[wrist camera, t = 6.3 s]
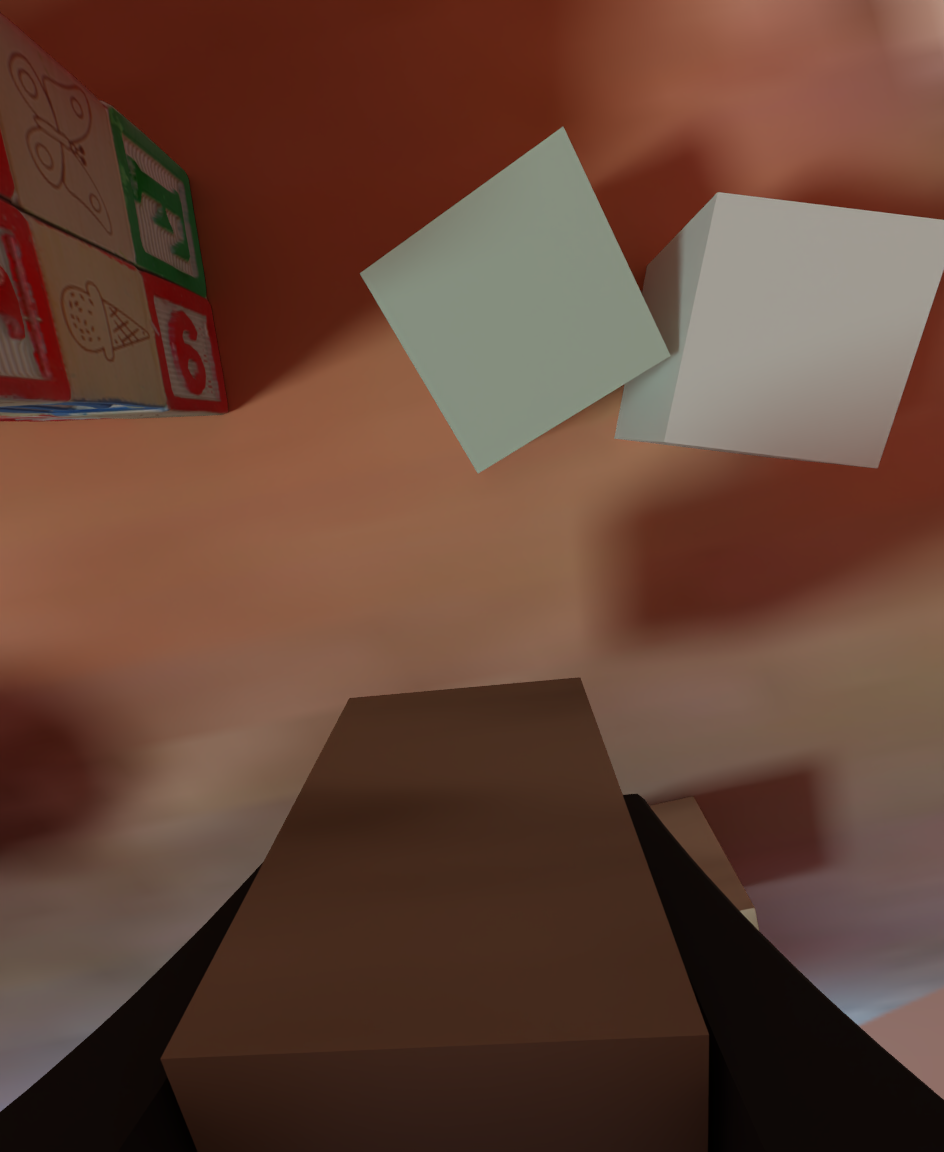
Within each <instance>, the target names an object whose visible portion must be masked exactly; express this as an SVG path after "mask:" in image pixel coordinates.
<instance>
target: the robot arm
mask: <svg viewBox="0 0 944 1152" xmlns="http://www.w3.org/2000/svg"><path fill="white" fill-rule="evenodd" d="M623 798H624V800H625V803H626V806H627V809H628V811H629V814H630V817H631V820H632V823H633V825H634V828H635V831H636V834H637V836H638V839H639V842H640V845H641V848H642V850H643V853H644V856H645V859H646V861H647V864H648V867H649V870H650V872H651V875H652V878H653V881H654V884H655V886H656V889H657V892H658V895H659V897H660V900H661V903H662V906H663V908H664V911H665V914H666V917H667V920H668V922H669V925H670V928H671V931H672V933H673V936H674V939H675V942H676V945H677V947H678V950H679V953H680V956H681V958H682V961H683V964H684V967H685V969H686V972H687V975H688V978H689V981H690V983H691V986H692V989H693V992H694V994H695V997H696V1000H697V1003H698V1006H699V1008H700V1011H701V1014H702V1017H703V1019H704V1022H705V1025H706V1028H707V1030H708V1033H709V1096H708V1152H944V1100H943V1099H942V1098H941V1097H940V1096H938V1095H937V1094H936V1093H935V1092H934V1091H933V1090H931V1089H930V1088H929V1087H928V1086H927V1085H925V1084H924V1083H923V1082H922V1081H921V1080H920V1079H918V1078H917V1077H916V1076H915V1075H914V1074H913V1073H912V1072H910V1071H909V1070H908V1069H907V1068H906V1067H905V1066H903V1065H902V1064H901V1063H900V1062H899V1061H898V1060H896V1059H895V1058H894V1057H893V1056H892V1055H891V1054H889V1053H888V1052H887V1051H886V1050H885V1049H884V1048H882V1047H881V1046H880V1045H879V1044H878V1043H877V1042H876V1041H875V1040H873V1039H872V1038H871V1037H870V1036H869V1035H868V1034H867V1033H866V1032H865V1031H863V1030H862V1029H861V1028H860V1027H859V1026H858V1025H857V1024H856V1023H855V1022H853V1021H852V1020H851V1019H850V1018H849V1017H848V1016H847V1015H846V1014H845V1013H843V1012H842V1011H841V1010H840V1009H839V1008H838V1007H837V1006H836V1005H835V1004H834V1003H832V1002H831V1001H830V1000H829V999H828V998H827V997H826V996H825V995H824V994H823V993H822V992H821V991H820V990H819V989H817V988H816V987H815V986H814V985H813V984H812V983H811V982H810V981H809V980H808V979H807V978H806V977H805V976H804V975H803V974H802V973H801V972H800V971H799V970H798V969H797V968H796V967H794V966H793V965H792V964H791V963H790V962H789V961H788V960H787V959H786V958H785V957H784V956H783V955H782V954H781V953H780V952H779V951H778V950H777V949H776V948H775V947H774V946H773V945H772V944H771V943H770V942H769V941H768V940H767V939H766V938H765V937H764V936H763V935H762V934H761V933H760V932H759V931H758V930H757V928H756V927H755V926H754V925H753V924H752V923H751V922H750V921H749V920H748V919H747V918H746V917H745V916H744V915H743V914H742V913H741V912H740V911H739V910H738V909H737V908H736V906H735V905H734V904H733V903H732V902H731V901H730V900H729V899H728V898H727V897H726V896H725V894H724V893H723V892H722V891H721V890H720V889H719V888H718V887H717V886H716V885H715V884H714V882H713V881H712V880H711V879H710V878H709V877H708V876H707V875H706V874H705V873H704V871H703V870H702V869H701V868H700V867H699V866H698V865H697V863H696V862H695V861H694V860H693V859H692V858H691V857H690V855H689V854H688V853H687V852H686V851H685V849H684V848H683V847H682V846H681V845H680V844H679V842H678V841H677V840H676V839H675V838H674V836H673V835H672V834H671V833H670V832H669V830H668V829H667V828H666V827H665V825H664V824H663V823H662V822H661V820H660V819H659V818H658V817H657V815H656V814H655V813H654V811H653V810H652V809H651V808H650V806H649V805H648V804H647V802H646V801H645V800H644V799H643V798H642V797H641V796H640V795H638V794H629V795H623ZM262 864H263V863H262ZM262 864H261V865H260V866H259V867H258V868H257V869H256V871H255V872H254V873H253V874H252V875H251V876H250V877H249V878H248V879H247V880H246V881H245V882H244V883H243V885H242V886H241V887H240V888H239V889H238V890H237V891H236V892H235V893H234V894H233V895H232V896H231V897H230V898H229V899H228V900H227V902H226V903H225V904H224V905H223V906H222V907H221V908H220V909H219V910H218V911H217V912H216V913H215V914H214V915H213V916H212V917H211V919H210V920H209V921H208V922H207V923H206V924H205V925H204V926H203V927H202V928H201V929H200V930H199V931H198V932H197V933H196V934H195V935H194V936H193V937H192V938H191V939H190V940H189V941H188V942H187V943H186V944H185V945H184V946H183V947H182V948H181V949H180V950H179V951H178V952H177V953H176V954H175V955H174V956H173V957H172V958H171V959H170V960H169V961H168V962H167V963H166V964H165V965H164V966H163V967H162V968H161V969H160V970H159V971H158V972H157V973H156V974H155V975H153V976H152V977H151V978H150V979H149V980H148V981H147V982H146V983H145V984H144V985H143V986H142V987H141V988H140V989H139V990H138V991H137V992H136V993H135V994H134V995H133V996H132V997H131V998H130V999H129V1000H128V1001H127V1002H126V1003H125V1004H124V1005H123V1006H121V1007H120V1008H119V1009H118V1010H117V1011H116V1012H115V1013H114V1014H113V1015H112V1016H111V1017H110V1018H108V1019H107V1020H106V1021H105V1022H104V1023H103V1024H102V1025H101V1026H100V1027H99V1028H98V1029H96V1030H95V1031H94V1032H93V1033H92V1034H91V1035H90V1036H89V1037H87V1038H86V1039H85V1040H84V1041H83V1042H82V1043H81V1044H80V1045H78V1046H77V1047H76V1048H75V1049H74V1050H73V1051H72V1052H70V1053H69V1054H68V1055H67V1056H66V1057H65V1058H64V1059H62V1060H61V1061H60V1062H59V1063H58V1064H57V1065H56V1066H55V1067H53V1068H52V1069H51V1070H50V1071H49V1072H48V1073H47V1074H45V1075H44V1076H43V1077H42V1078H41V1079H40V1080H38V1081H37V1082H36V1083H35V1084H34V1085H33V1086H31V1087H30V1088H29V1089H28V1090H27V1091H25V1092H24V1093H23V1094H22V1095H21V1096H19V1097H18V1098H17V1099H16V1100H14V1101H13V1102H12V1103H11V1104H9V1105H8V1106H7V1107H6V1108H5V1109H3V1110H2V1111H1V1112H0V1152H197V1149H196V1147H195V1144H194V1142H193V1139H192V1137H191V1134H190V1132H189V1129H188V1127H187V1124H186V1122H185V1119H184V1117H183V1114H182V1112H181V1109H180V1107H179V1104H178V1102H177V1099H176V1097H175V1094H174V1092H173V1089H172V1087H171V1084H170V1082H169V1079H168V1077H167V1074H166V1072H165V1069H164V1067H163V1064H162V1062H161V1057H162V1055H163V1053H164V1051H165V1049H166V1047H167V1045H168V1043H169V1042H170V1040H171V1038H172V1036H173V1034H174V1032H175V1030H176V1028H177V1026H178V1024H179V1022H180V1021H181V1019H182V1017H183V1015H184V1013H185V1011H186V1009H187V1007H188V1005H189V1003H190V1001H191V1000H192V998H193V996H194V994H195V992H196V990H197V988H198V986H199V984H200V982H201V980H202V979H203V977H204V975H205V973H206V971H207V969H208V967H209V965H210V963H211V961H212V960H213V958H214V956H215V954H216V952H217V950H218V948H219V946H220V944H221V942H222V940H223V939H224V937H225V935H226V933H227V931H228V929H229V927H230V925H231V923H232V921H233V919H234V918H235V916H236V914H237V912H238V910H239V908H240V906H241V904H242V902H243V900H244V898H245V897H246V895H247V893H248V891H249V889H250V887H251V885H252V883H253V881H254V879H255V877H256V876H257V874H258V872H259V870H260V868H261V866H262Z"/></svg>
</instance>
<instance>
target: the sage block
mask: <svg viewBox="0 0 944 1152" xmlns="http://www.w3.org/2000/svg"><path fill="white" fill-rule="evenodd" d="M360 275H361V276H362V278H363V280H364V282H365V283H366V285H367V287H368V288H369V290H370V292H371V293H372V295H373V297H374V298H375V300H376V302H377V304H378V305H379V307H380V309H381V310H382V312H383V314H384V315H385V317H386V319H387V320H388V322H389V324H390V326H391V327H392V329H393V331H394V332H395V334H396V336H397V337H398V339H399V341H400V342H401V344H402V346H403V348H404V349H405V351H406V353H407V354H408V356H409V358H410V359H411V361H412V363H413V364H414V366H415V368H416V370H417V371H418V373H419V375H420V376H421V378H422V380H423V381H424V383H425V385H426V386H427V388H428V390H429V392H430V393H431V395H432V397H433V398H434V400H435V402H436V403H437V405H438V407H439V408H440V410H441V412H442V414H443V415H444V417H445V419H446V420H447V422H448V424H449V425H450V427H451V429H452V430H453V432H454V434H455V436H456V437H457V439H458V441H459V442H460V444H461V446H462V447H463V449H464V451H465V452H466V454H467V456H468V458H469V459H470V461H471V463H472V464H473V466H474V468H475V469H476V471H477V473H480V472H481V471H483V470H485V469H486V468H488V467H490V466H491V465H493V464H494V463H496V462H498V461H499V460H501V459H503V458H504V457H506V456H508V455H509V454H511V453H512V452H514V451H516V450H517V449H519V448H521V447H522V446H524V445H526V444H527V443H529V442H530V441H532V440H534V439H535V438H537V437H539V436H540V435H542V434H544V433H545V432H547V431H548V430H550V429H552V428H553V427H555V426H557V425H558V424H560V423H562V422H563V421H565V420H566V419H568V418H570V417H571V416H573V415H575V414H576V413H578V412H580V411H581V410H583V409H584V408H586V407H588V406H589V405H591V404H593V403H594V402H596V401H598V400H599V399H601V398H603V397H604V396H606V395H607V394H609V393H611V392H612V391H614V390H616V389H617V388H619V387H621V386H622V385H624V384H625V383H627V382H629V381H630V380H632V379H634V378H635V377H637V376H639V375H640V374H642V373H643V372H645V371H647V370H648V369H650V368H652V367H653V366H655V365H657V364H658V363H660V362H661V361H663V360H665V359H666V358H668V357H670V356H671V355H670V353H669V351H668V349H667V347H666V345H665V343H664V341H663V338H662V336H661V334H660V332H659V330H658V328H657V326H656V323H655V321H654V319H653V317H652V315H651V313H650V311H649V308H648V306H647V304H646V302H645V300H644V298H643V296H642V294H641V291H640V289H639V287H638V285H637V283H636V281H635V279H634V276H633V274H632V272H631V270H630V268H629V266H628V264H627V261H626V259H625V257H624V255H623V253H622V251H621V249H620V247H619V244H618V242H617V240H616V238H615V236H614V234H613V232H612V229H611V227H610V225H609V223H608V221H607V219H606V217H605V214H604V212H603V210H602V208H601V206H600V204H599V202H598V200H597V197H596V195H595V193H594V191H593V189H592V187H591V185H590V182H589V180H588V178H587V176H586V174H585V172H584V170H583V167H582V165H581V163H580V161H579V159H578V157H577V155H576V153H575V150H574V148H573V146H572V144H571V142H570V140H569V138H568V135H567V133H566V131H565V129H564V127H562V128H560V129H559V130H557V131H556V132H555V133H553V134H552V135H551V136H549V137H548V138H546V139H545V140H544V141H542V142H541V143H539V144H538V145H537V146H535V147H534V148H533V149H531V150H530V151H528V152H527V153H526V154H524V155H523V156H521V157H520V158H519V159H517V160H516V161H515V162H513V163H512V164H510V165H509V166H508V167H506V168H505V169H503V170H502V171H501V172H499V173H498V174H497V175H495V176H494V177H492V178H491V179H490V180H488V181H487V182H485V183H484V184H483V185H481V186H480V187H479V188H477V189H476V190H474V191H473V192H472V193H470V194H469V195H467V196H466V197H465V198H463V199H462V200H461V201H459V202H458V203H456V204H455V205H454V206H452V207H451V208H449V209H448V210H447V211H445V212H444V213H443V214H441V215H440V216H438V217H437V218H436V219H434V220H433V221H431V222H430V223H429V224H427V225H426V226H425V227H423V228H422V229H420V230H419V231H418V232H416V233H415V234H413V235H412V236H411V237H409V238H408V239H407V240H405V241H404V242H402V243H401V244H400V245H398V246H397V247H395V248H394V249H393V250H391V251H390V252H389V253H387V254H386V255H384V256H383V257H382V258H380V259H379V260H377V261H376V262H375V263H373V264H372V265H371V266H369V267H368V268H366V269H365V270H364V271H362V272H361V273H360Z"/></svg>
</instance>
